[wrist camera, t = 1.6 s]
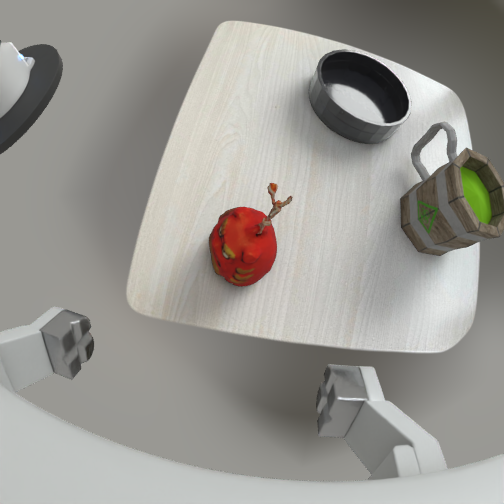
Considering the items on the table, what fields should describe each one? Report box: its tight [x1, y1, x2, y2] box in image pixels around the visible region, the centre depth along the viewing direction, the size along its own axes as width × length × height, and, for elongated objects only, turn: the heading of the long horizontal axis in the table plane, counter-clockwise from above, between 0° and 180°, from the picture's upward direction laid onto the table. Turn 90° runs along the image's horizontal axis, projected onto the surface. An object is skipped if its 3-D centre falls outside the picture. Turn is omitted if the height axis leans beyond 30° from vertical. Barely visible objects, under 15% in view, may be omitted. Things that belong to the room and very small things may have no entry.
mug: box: [400, 122, 504, 256], centre depth 32 cm, size 16×11×12 cm
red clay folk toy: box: [209, 183, 293, 286], centre depth 27 cm, size 8×7×15 cm
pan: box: [309, 50, 411, 144], centre depth 38 cm, size 15×15×5 cm
